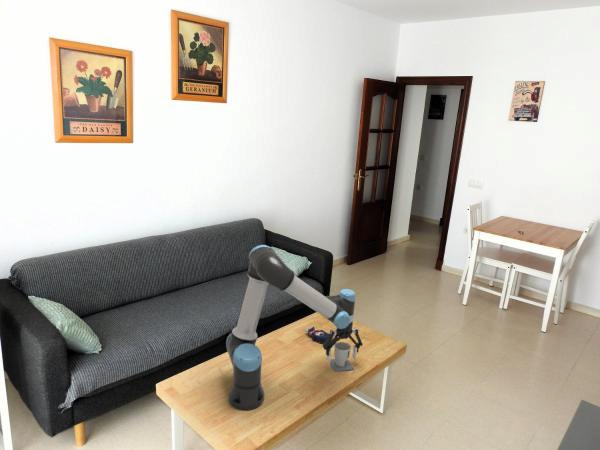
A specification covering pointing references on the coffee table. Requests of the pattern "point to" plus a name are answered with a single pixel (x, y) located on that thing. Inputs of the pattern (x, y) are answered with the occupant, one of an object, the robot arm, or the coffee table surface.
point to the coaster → (340, 369)
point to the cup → (341, 353)
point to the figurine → (317, 334)
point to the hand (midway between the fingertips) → (341, 359)
